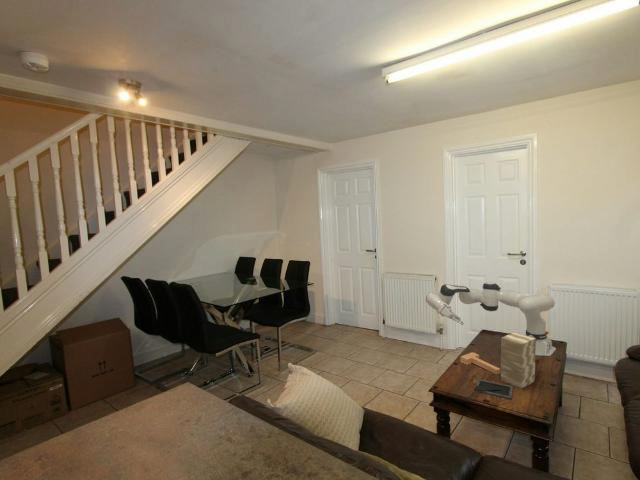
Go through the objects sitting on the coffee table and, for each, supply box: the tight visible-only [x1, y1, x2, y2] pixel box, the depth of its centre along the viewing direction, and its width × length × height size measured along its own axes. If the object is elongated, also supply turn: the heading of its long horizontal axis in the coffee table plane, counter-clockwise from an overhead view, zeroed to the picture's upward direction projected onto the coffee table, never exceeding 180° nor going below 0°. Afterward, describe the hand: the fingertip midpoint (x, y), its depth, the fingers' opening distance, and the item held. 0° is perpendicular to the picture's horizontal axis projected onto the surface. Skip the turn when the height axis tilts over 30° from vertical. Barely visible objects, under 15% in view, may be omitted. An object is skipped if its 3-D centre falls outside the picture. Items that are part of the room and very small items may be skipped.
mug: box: [535, 357, 540, 379], centre depth 209 cm, size 12×8×9 cm, turn 117°
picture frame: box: [474, 378, 514, 401], centre depth 195 cm, size 13×2×18 cm
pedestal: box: [500, 331, 536, 390], centre depth 201 cm, size 14×12×26 cm
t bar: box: [459, 351, 501, 376], centre depth 221 cm, size 12×23×4 cm, turn 29°
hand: (460, 323), depth 234 cm, fingers open, 8 cm apart
